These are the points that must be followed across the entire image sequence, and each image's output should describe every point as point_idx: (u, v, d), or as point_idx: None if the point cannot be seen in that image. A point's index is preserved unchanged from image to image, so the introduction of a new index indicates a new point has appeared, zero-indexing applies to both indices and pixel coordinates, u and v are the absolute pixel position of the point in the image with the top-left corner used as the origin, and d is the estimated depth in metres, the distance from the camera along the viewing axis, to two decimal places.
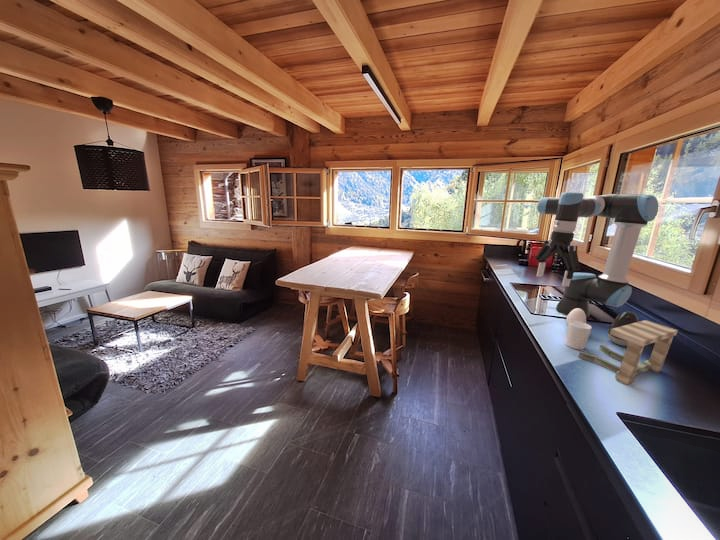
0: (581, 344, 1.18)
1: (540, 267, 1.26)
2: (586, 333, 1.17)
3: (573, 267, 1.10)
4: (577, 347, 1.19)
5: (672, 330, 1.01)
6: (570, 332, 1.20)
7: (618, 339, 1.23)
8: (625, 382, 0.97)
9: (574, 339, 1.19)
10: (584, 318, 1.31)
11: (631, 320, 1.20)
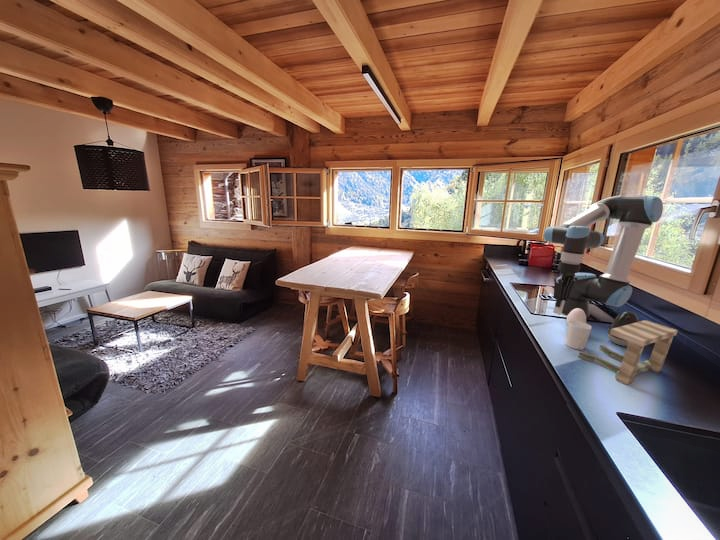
0: (581, 344, 1.18)
1: None
2: (586, 333, 1.17)
3: None
4: (577, 347, 1.19)
5: (672, 330, 1.01)
6: (570, 332, 1.20)
7: (618, 339, 1.23)
8: (625, 382, 0.97)
9: (574, 339, 1.19)
10: (584, 318, 1.31)
11: (631, 320, 1.20)
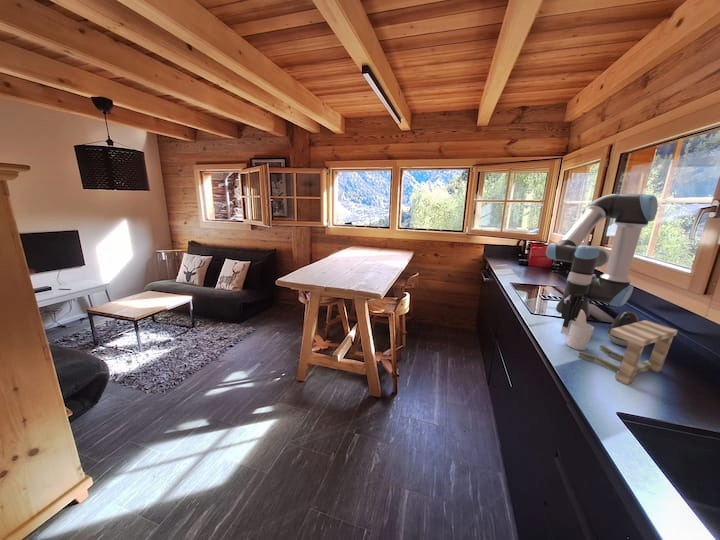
0: (582, 345, 1.18)
1: None
2: (589, 334, 1.16)
3: None
4: (579, 348, 1.18)
5: (672, 330, 1.01)
6: (573, 333, 1.19)
7: (618, 339, 1.23)
8: (625, 382, 0.97)
9: (576, 340, 1.18)
10: (584, 318, 1.31)
11: (631, 320, 1.20)
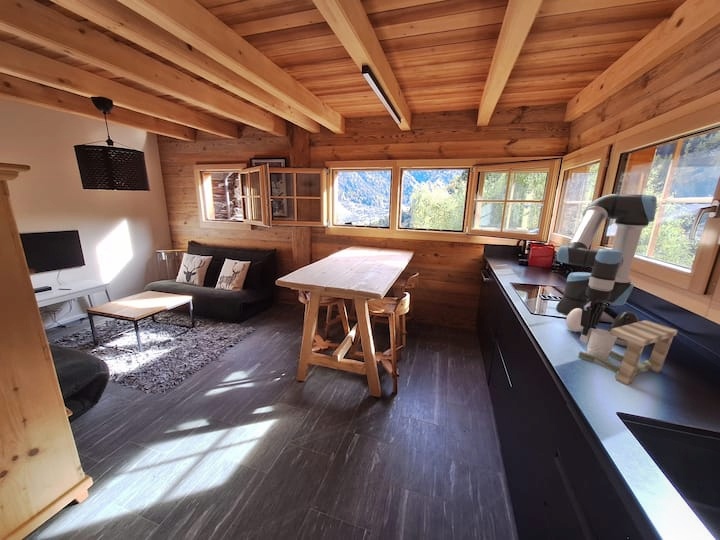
0: (605, 354, 1.11)
1: None
2: (612, 343, 1.09)
3: None
4: (602, 357, 1.12)
5: (672, 330, 1.01)
6: (595, 342, 1.12)
7: (618, 339, 1.23)
8: (625, 382, 0.97)
9: (599, 349, 1.11)
10: None
11: (631, 320, 1.20)
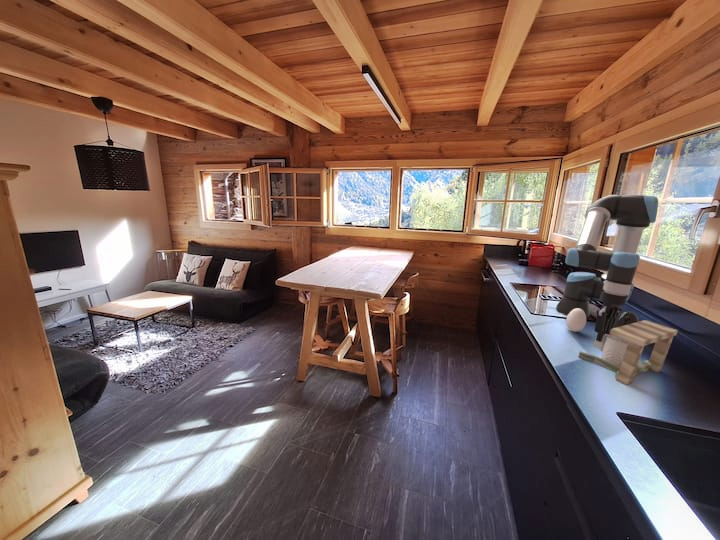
0: None
1: None
2: None
3: None
4: (619, 365, 1.07)
5: (672, 330, 1.01)
6: (612, 349, 1.07)
7: None
8: (625, 382, 0.97)
9: (616, 356, 1.07)
10: (584, 318, 1.31)
11: (631, 320, 1.20)
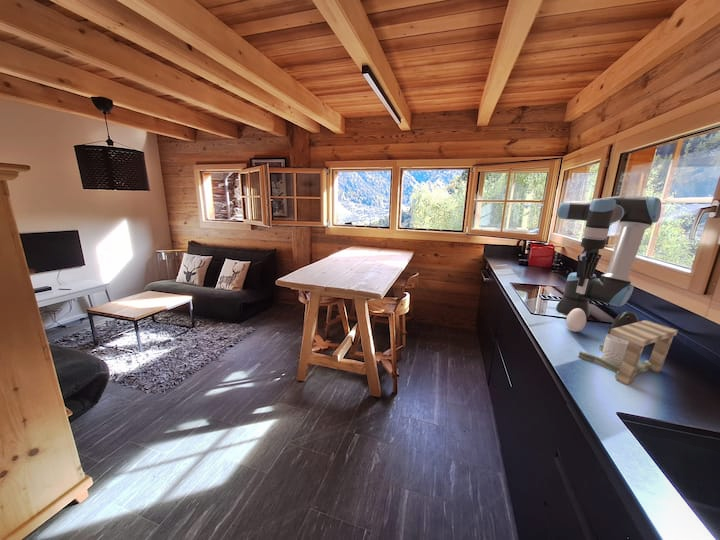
0: None
1: None
2: None
3: None
4: (619, 365, 1.07)
5: (672, 330, 1.01)
6: (611, 349, 1.07)
7: None
8: (625, 382, 0.97)
9: (616, 356, 1.07)
10: (584, 318, 1.31)
11: (631, 320, 1.20)
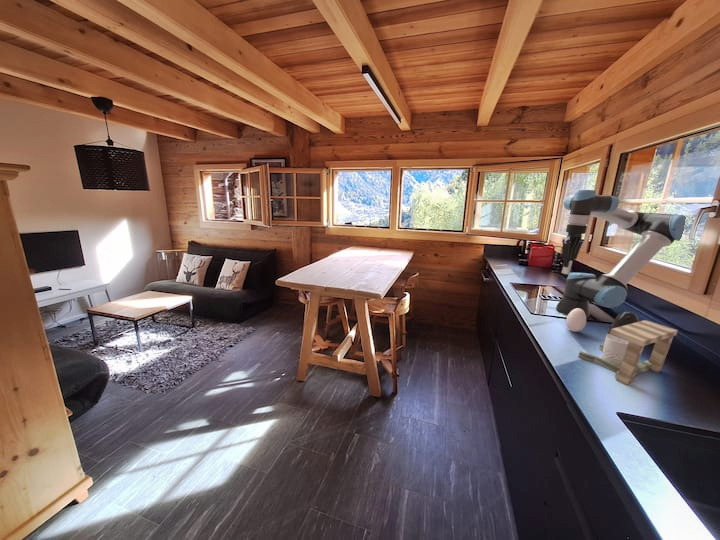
0: None
1: None
2: None
3: None
4: (619, 365, 1.07)
5: (672, 330, 1.01)
6: (611, 349, 1.07)
7: None
8: (625, 382, 0.97)
9: (616, 356, 1.07)
10: (584, 318, 1.31)
11: (631, 320, 1.20)
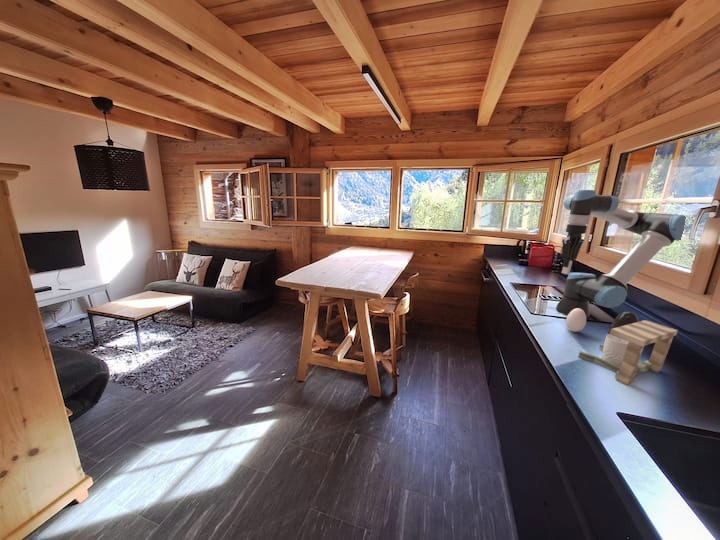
0: None
1: None
2: None
3: None
4: (619, 365, 1.07)
5: (672, 330, 1.01)
6: (611, 349, 1.07)
7: None
8: (625, 382, 0.97)
9: (616, 356, 1.07)
10: (584, 318, 1.31)
11: (631, 320, 1.20)
